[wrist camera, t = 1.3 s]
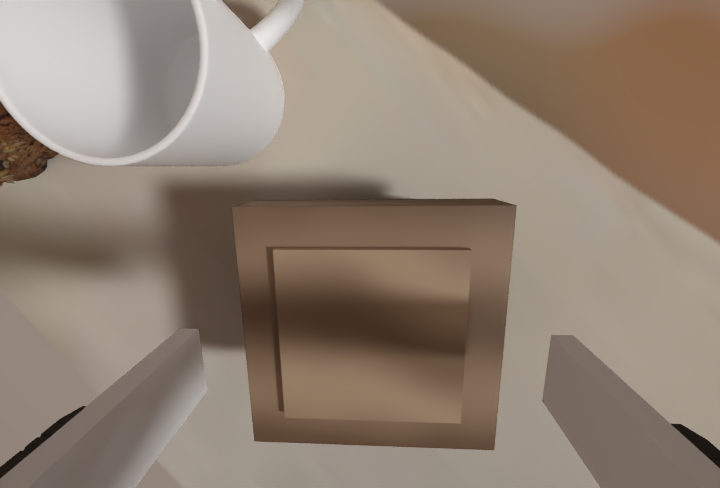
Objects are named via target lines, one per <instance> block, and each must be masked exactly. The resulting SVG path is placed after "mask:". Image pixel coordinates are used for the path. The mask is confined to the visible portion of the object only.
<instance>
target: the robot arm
mask: <svg viewBox="0 0 720 488" xmlns="http://www.w3.org/2000/svg"><path fill="white" fill-rule="evenodd" d="M206 392H207V385H206V378H205V370H204V363H203V356H202V349H201V342H200V335H199V329H179V330H177V331H176V332H175V333H174V334H173V335H171V336H170V337H169V338H168V339H167V340H165V341H164V342H163V343H162V344H161V345H159V346H158V347H157V348H156V349H155V350H153V351H152V352H151V353H150V354H149V355H147V356H146V357H145V358H144V359H143V360H141V361H140V362H139V363H138V364H137V365H135V366H134V367H133V368H132V369H131V370H130V371H128V372H127V373H126V374H125V375H124V376H122V377H121V378H120V379H119V380H118V381H116V382H115V383H114V384H113V385H112V386H110V387H109V388H108V389H107V390H106V391H104V392H103V393H102V394H101V395H100V396H98V397H97V398H96V399H95V400H94V401H93V402H91V403H90V404H89V405H88V406H82V407H80V408H79V409H77V410H75V411H73V412H72V413H70V414H68V415H67V416H64V417H63V418H61V419H59V420H58V421H57V422H56V423H54V424H53V425H52V426H51V427H49V428H48V429H47V430H46V431H44V432H43V433H42V434H41V437H37V438H36V439H35V440H33V441H32V442H31V443H30V444H29V445H27V446H26V447H25V449H24V451H20V452H19V453H17V454H16V455H15V456H13V457H12V458H11V459H10V460H9V461H7V462H6V463H5V464H4V465H2V466H1V467H0V488H135V487H136V486H137V484H138V483H139V482H140V480H141V479H142V478H143V476H144V475H145V474H146V472H147V471H148V470H149V468H150V467H151V466H152V464H153V463H154V462H155V460H156V459H157V458H158V456H159V455H160V454H161V452H162V451H163V450H164V448H165V447H166V446H167V444H168V443H169V442H170V440H171V439H172V438H173V436H174V435H175V434H176V432H177V431H178V430H179V428H180V427H181V426H182V424H183V423H184V422H185V420H186V419H187V418H188V416H189V415H190V414H191V412H192V411H193V410H194V408H195V407H196V406H197V404H198V403H199V402H200V400H201V399H202V398H203V396H204V395H205V394H206ZM542 401H543V403H544V404H545V405H546V407H547V408H548V410H549V411H550V413H551V414H552V416H553V417H554V419H555V420H556V422H557V423H558V425H559V426H560V428H561V429H562V431H563V432H564V434H565V435H566V437H567V438H568V440H569V441H570V443H571V444H572V446H573V447H574V449H575V450H576V451H577V453H578V454H579V456H580V457H581V459H582V460H583V462H584V463H585V465H586V466H587V468H588V469H589V471H590V472H591V474H592V475H593V477H594V478H595V480H596V481H597V483H598V484H599V486H600V487H601V488H720V450H718V449H717V448H716V447H715V446H714V445H713V444H711V443H710V442H709V441H708V440H706V439H705V438H703V437H701V436H700V435H698V434H696V433H695V432H693V431H691V430H690V429H688V428H686V427H685V426H683V425H681V424H670V423H669V422H668V421H667V420H666V419H665V418H664V417H662V416H661V415H660V414H659V413H658V412H657V411H656V410H655V409H654V408H653V407H651V406H650V405H649V404H648V403H647V402H646V401H645V400H644V399H643V398H642V397H640V396H639V395H638V394H637V393H636V392H635V391H634V390H633V389H632V388H631V387H629V386H628V385H627V384H626V383H625V382H624V381H623V380H622V379H621V378H619V377H618V376H617V375H616V374H615V373H614V372H613V371H612V370H611V369H610V368H608V367H607V366H606V365H605V364H604V363H603V362H602V361H601V360H600V359H599V358H597V357H596V356H595V355H594V354H593V353H592V352H591V351H590V350H589V349H588V348H586V347H585V346H584V345H583V344H582V343H581V342H580V341H579V340H578V339H577V338H575V337H574V336H572V335H551V341H550V348H549V355H548V363H547V370H546V378H545V385H544V392H543V400H542Z"/></svg>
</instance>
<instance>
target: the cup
mask: <svg viewBox="0 0 720 488" xmlns="http://www.w3.org/2000/svg"><path fill="white" fill-rule="evenodd" d="M303 2H304V0H279V1H278V2H277V4H276V5H275V7H274V8H273V9H272V10H271V11H270V12H269V13H268V14H267V15H266V16H265V17H264V18H263V19H262V20H261V21H260V22H259V23H257V24H256V25H255V26H254V27H252V28H251V29H248V28H247V27H246V26H245V24H244V23H243V22H242V21H241V20H240V19H239V18H238V17H237V16H236V15H235V14H234V13H233V12H232V11H231V10H230V9H229V8H228V7H227V6H226V4H225V3H224V2H223V1H222V0H0V101H1V103H2V104H3V106H4V107H5V108H6V110H7V111H8V112H9V113H10V115H11V116H12V117H13V118H14V119H15V120H16V121H17V122H18V123H19V125H20V126H21V127H22V128H23V129H25V130H26V131H27V132H28V133H29V134H30V135H31V136H33V137H34V138H35V139H37V140H38V141H39V142H41V143H42V144H44V145H45V146H47V147H48V148H50V149H52V150H53V151H55V152H57V153H59V154H61V155H63V156H65V157H68V158H70V159H73V160H76V161H79V162H82V163H87V164H92V165H98V166H229V165H235V164H239V163H242V162H245V161H248V160H250V159H252V158H254V157H255V156H257V155H258V154H260V153H261V152H262V151H263V150H264V149H265V148H266V147H267V146H268V145H269V144H270V143H271V141H272V140H273V139H274V137H275V135H276V133H277V132H278V129H279V127H280V124H281V121H282V117H283V113H284V101H285V99H284V88H283V83H282V79H281V76H280V73H279V70H278V68H277V66H276V64H275V62H274V60H273V58H272V56H271V55H270V53H269V51H270V50H271V49H272V48H273V47H274V46H275V45H276V44H277V43H278V42H279V41H280V40H281V39H282V38H283V36H284V35H285V34H286V33H287V32H288V31H289V29H290V28H291V27H292V25H293V24H294V22H295V21H296V19H297V17H298V15H299V13H300V11H301V8H302V5H303Z"/></svg>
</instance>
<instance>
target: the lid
mask: <svg viewBox="0 0 720 488" xmlns="http://www.w3.org/2000/svg"><path fill="white" fill-rule="evenodd" d="M516 206H517V205H513V204H510V203H506V202H503V201H499V200H496V199H365V200H255V201H252V202H248V203H244V204H241V205H237V206H233V207H232V215H233V225H234V236H235V246H236V256H237V266H238V277H239V287H240V297H241V308H242V318H243V328H244V339H245V349H246V359H247V369H248V380H249V390H250V400H251V411H252V421H253V431H254V441H261V442H288V443H315V444H342V445H369V446H397V447H424V448H451V449H478V450H494V446H495V435H496V424H497V413H498V402H499V391H500V380H501V369H502V359H503V348H504V337H505V326H506V315H507V304H508V293H509V282H510V272H511V261H512V250H513V239H514V228H515V217H516Z"/></svg>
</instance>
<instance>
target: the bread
mask: <svg viewBox="0 0 720 488" xmlns="http://www.w3.org/2000/svg"><path fill="white" fill-rule="evenodd" d="M57 154H58V153H57V152H55V151H53V150H52V149H50V148H48V147H47V146H45V145H44V144H42V143H41V142H39V141H38V140H37V139H35V138H34V137H33V136H31V135H30V134H29V133H28V132H27V131H26V130H25V129H23V128H22V127H21V126H20V125H19V123H18V122H17V121H16V120H15V119H14V118H13V117H12V116H11V115H10V113H9V112H8V111H7V110H6V108H5V107H4V106H3V104H2V103H1V101H0V187H2V185H3V182H7V183H14V181H20V180H25V179H29V178H34V177H36V176H38V175H39V174H40V173H42V172H43V171H44V170H45V169H46V168H47V159H51V158H53V157H55V156H56V155H57Z"/></svg>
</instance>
